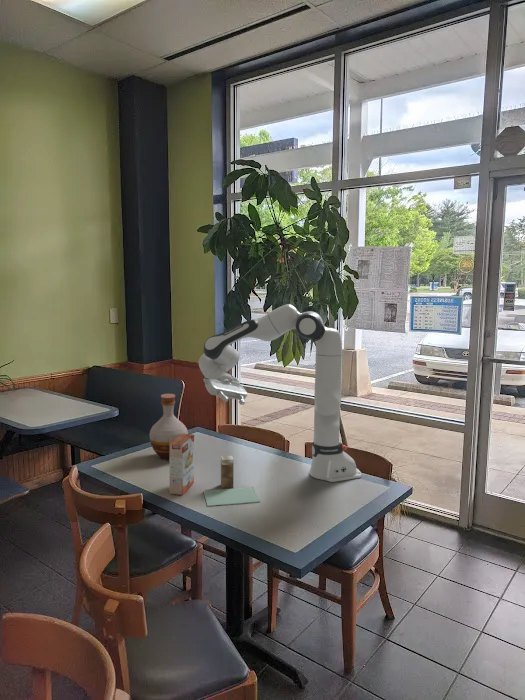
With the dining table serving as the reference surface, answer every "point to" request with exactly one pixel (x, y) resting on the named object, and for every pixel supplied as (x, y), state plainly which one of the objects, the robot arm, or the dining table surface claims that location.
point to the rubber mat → (231, 496)
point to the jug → (166, 428)
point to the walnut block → (227, 471)
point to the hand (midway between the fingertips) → (234, 402)
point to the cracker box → (181, 464)
